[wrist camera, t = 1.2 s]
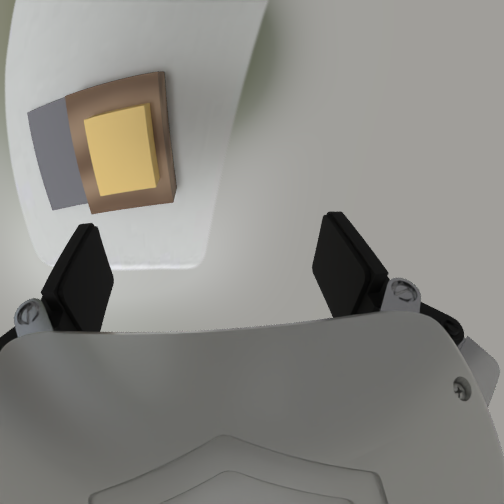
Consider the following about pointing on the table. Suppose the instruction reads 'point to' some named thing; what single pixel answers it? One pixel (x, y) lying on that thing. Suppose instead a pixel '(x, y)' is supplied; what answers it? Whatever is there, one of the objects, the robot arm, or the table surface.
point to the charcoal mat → (56, 155)
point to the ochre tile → (123, 149)
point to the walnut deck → (118, 97)
